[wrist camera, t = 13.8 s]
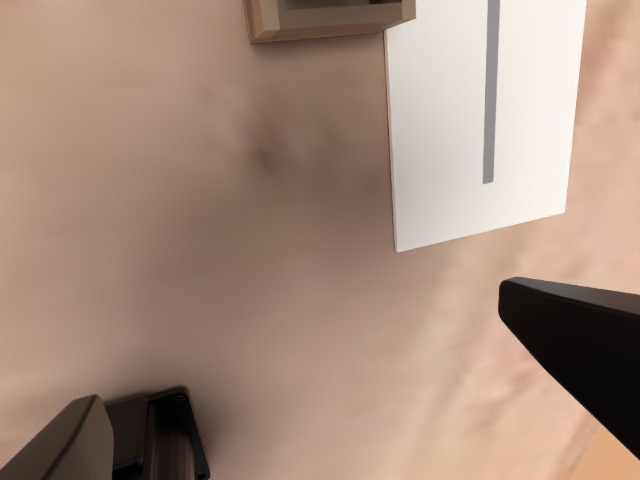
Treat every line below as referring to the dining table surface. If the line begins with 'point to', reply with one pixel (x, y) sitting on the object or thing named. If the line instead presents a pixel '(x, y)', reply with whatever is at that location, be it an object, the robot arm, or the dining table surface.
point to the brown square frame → (322, 18)
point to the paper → (480, 114)
